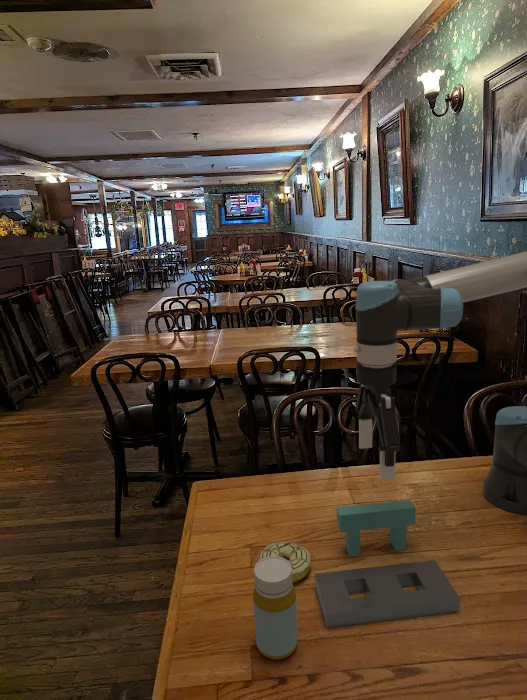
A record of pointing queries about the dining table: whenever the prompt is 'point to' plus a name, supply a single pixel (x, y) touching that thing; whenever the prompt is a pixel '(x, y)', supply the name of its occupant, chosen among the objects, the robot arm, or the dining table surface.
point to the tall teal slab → (376, 522)
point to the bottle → (275, 608)
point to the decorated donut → (290, 557)
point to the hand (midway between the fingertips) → (375, 462)
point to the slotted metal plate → (385, 593)
